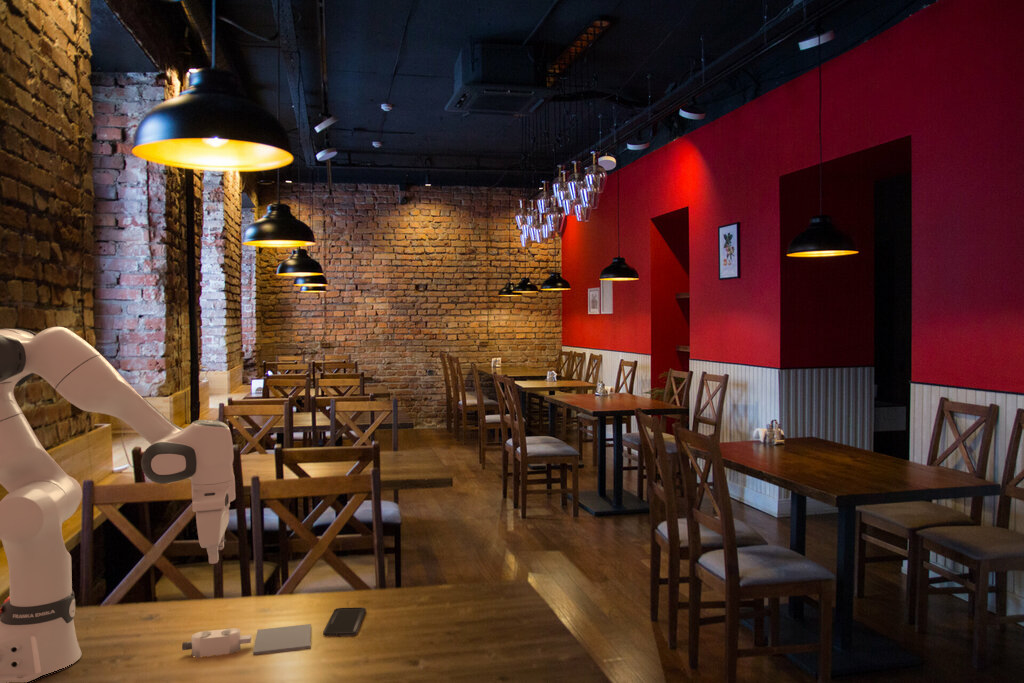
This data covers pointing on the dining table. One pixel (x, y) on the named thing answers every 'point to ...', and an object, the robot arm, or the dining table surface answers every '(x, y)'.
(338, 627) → the phone
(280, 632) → the pad
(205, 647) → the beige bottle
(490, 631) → the dining table surface
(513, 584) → the dining table surface
